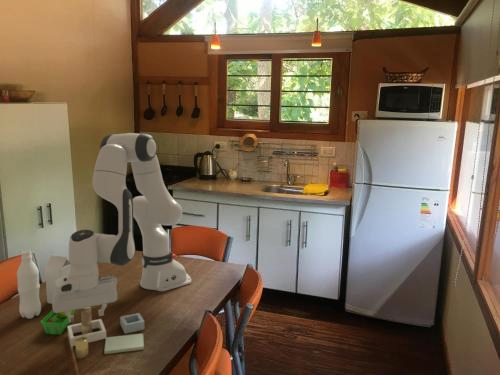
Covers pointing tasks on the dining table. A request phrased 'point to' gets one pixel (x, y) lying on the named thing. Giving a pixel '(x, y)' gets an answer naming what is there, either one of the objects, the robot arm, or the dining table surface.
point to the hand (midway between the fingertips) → (86, 318)
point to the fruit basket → (56, 322)
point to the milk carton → (55, 273)
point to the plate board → (124, 343)
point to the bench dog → (81, 347)
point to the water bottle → (28, 286)
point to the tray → (89, 336)
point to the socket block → (132, 323)
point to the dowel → (86, 320)
